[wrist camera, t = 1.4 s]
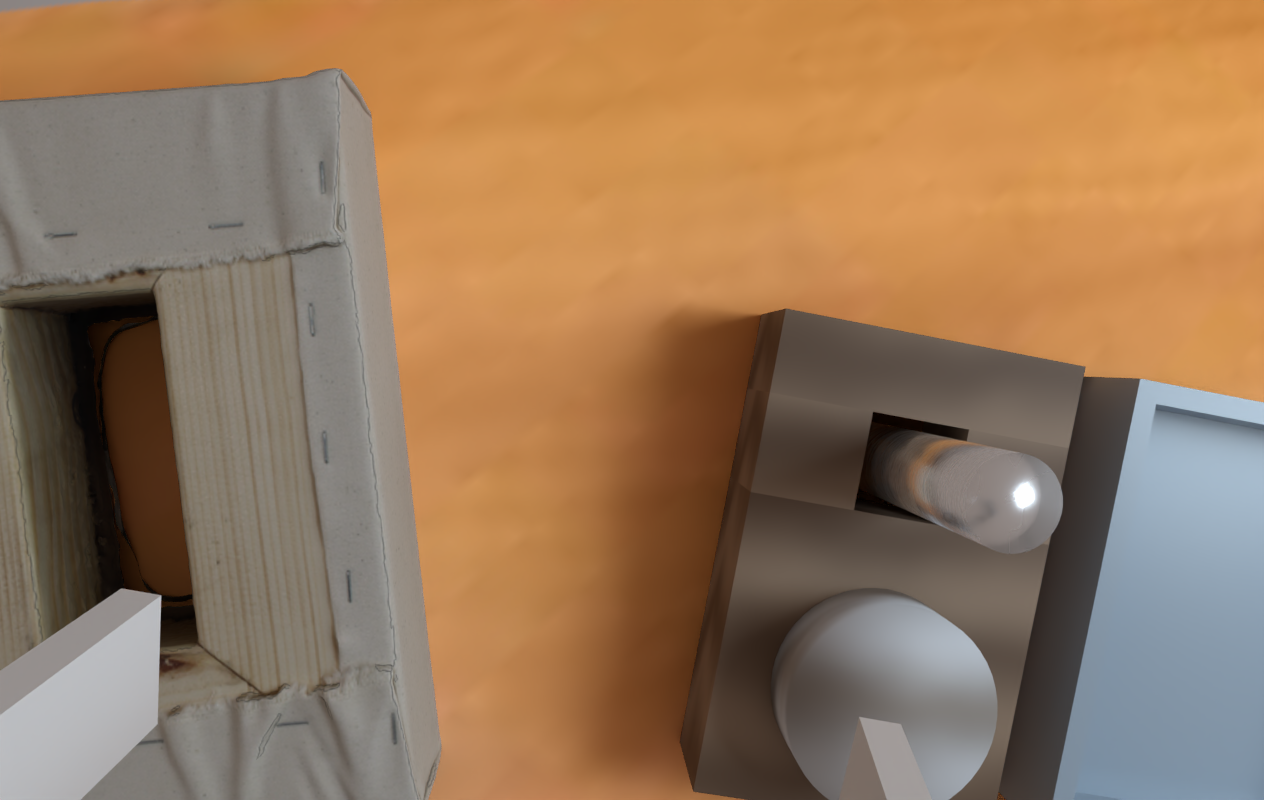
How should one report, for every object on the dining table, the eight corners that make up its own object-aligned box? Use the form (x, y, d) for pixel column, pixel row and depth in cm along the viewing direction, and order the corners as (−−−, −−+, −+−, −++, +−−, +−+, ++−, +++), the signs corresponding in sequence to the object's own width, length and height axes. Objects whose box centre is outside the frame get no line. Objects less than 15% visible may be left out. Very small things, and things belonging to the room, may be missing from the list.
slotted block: (457, 743, 43) (379, 104, 41) (429, 829, 36) (331, 48, 34) (-13, 803, 42) (-118, 150, 40) (-148, 904, 35) (-285, 103, 33)
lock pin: (899, 496, 44) (1051, 561, 30) (832, 485, 43) (955, 544, 29) (912, 429, 43) (1071, 462, 29) (846, 417, 43) (975, 444, 29)
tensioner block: (942, 782, 44) (1023, 875, 36) (679, 741, 43) (703, 828, 35) (1027, 365, 44) (1128, 367, 36) (761, 314, 43) (804, 304, 35)
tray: (1315, 840, 46) (1395, 892, 41) (997, 791, 45) (1044, 839, 40) (1403, 438, 45) (1494, 447, 41) (1082, 376, 44) (1140, 378, 39)
